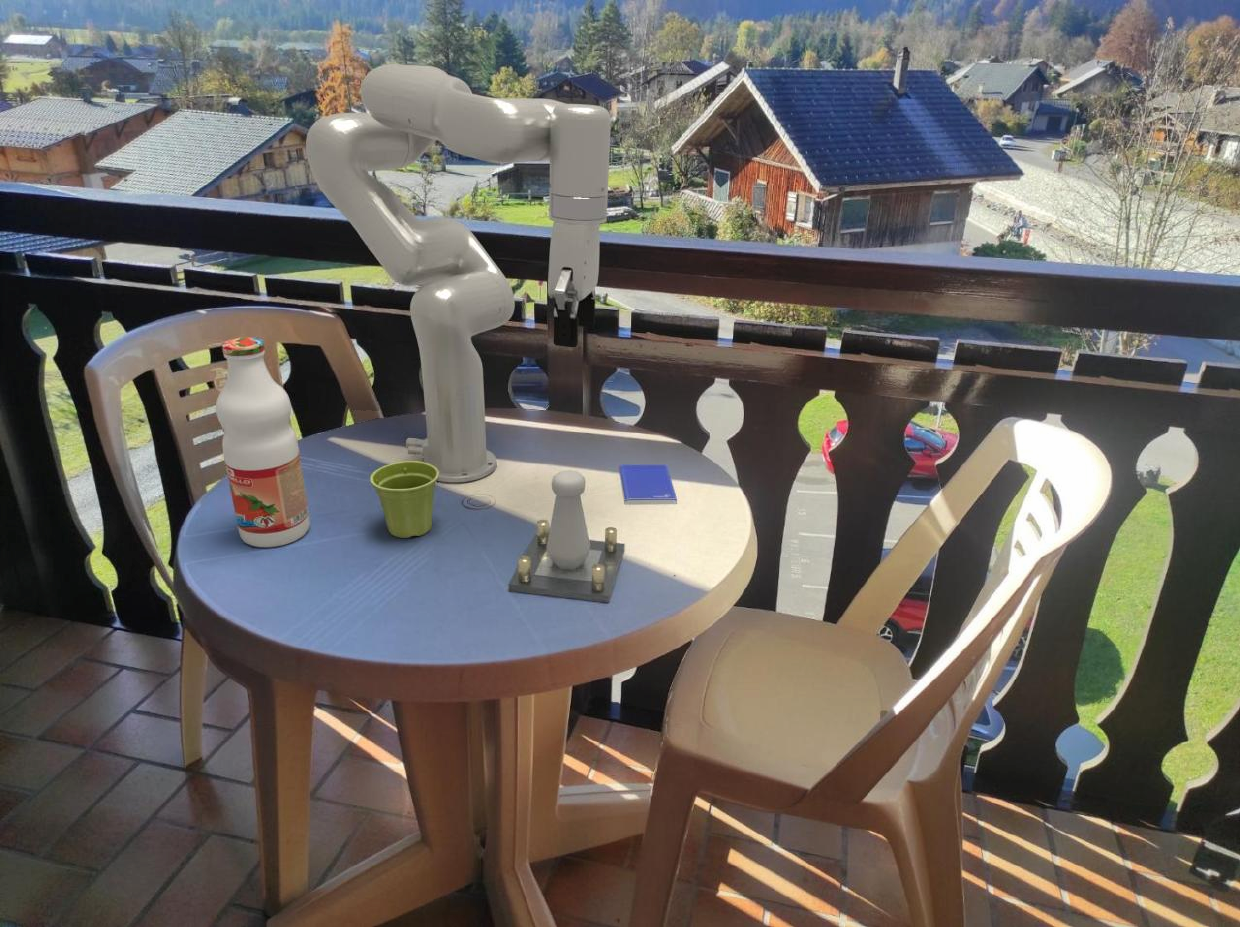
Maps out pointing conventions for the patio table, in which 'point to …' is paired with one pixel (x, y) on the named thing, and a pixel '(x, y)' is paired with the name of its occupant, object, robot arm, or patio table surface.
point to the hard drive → (647, 484)
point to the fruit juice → (260, 450)
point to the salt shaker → (568, 522)
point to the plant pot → (406, 496)
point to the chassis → (577, 584)
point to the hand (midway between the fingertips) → (574, 335)
